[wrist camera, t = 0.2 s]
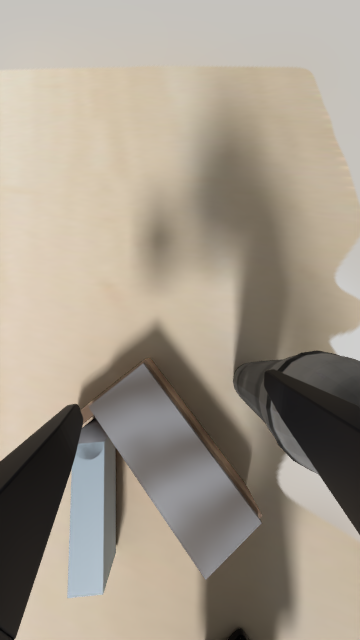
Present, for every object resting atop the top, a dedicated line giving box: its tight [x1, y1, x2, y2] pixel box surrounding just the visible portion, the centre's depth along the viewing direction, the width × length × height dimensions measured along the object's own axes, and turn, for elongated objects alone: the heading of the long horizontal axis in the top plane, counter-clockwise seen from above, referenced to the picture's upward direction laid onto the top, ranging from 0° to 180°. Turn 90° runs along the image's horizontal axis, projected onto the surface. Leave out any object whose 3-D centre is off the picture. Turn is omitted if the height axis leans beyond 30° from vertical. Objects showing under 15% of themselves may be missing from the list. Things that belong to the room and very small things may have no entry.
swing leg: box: [68, 418, 116, 598], centre depth 19 cm, size 14×3×4 cm, turn 3°
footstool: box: [80, 358, 262, 580], centre depth 19 cm, size 18×11×5 cm, turn 38°
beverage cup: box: [233, 351, 360, 474], centre depth 13 cm, size 7×7×20 cm
